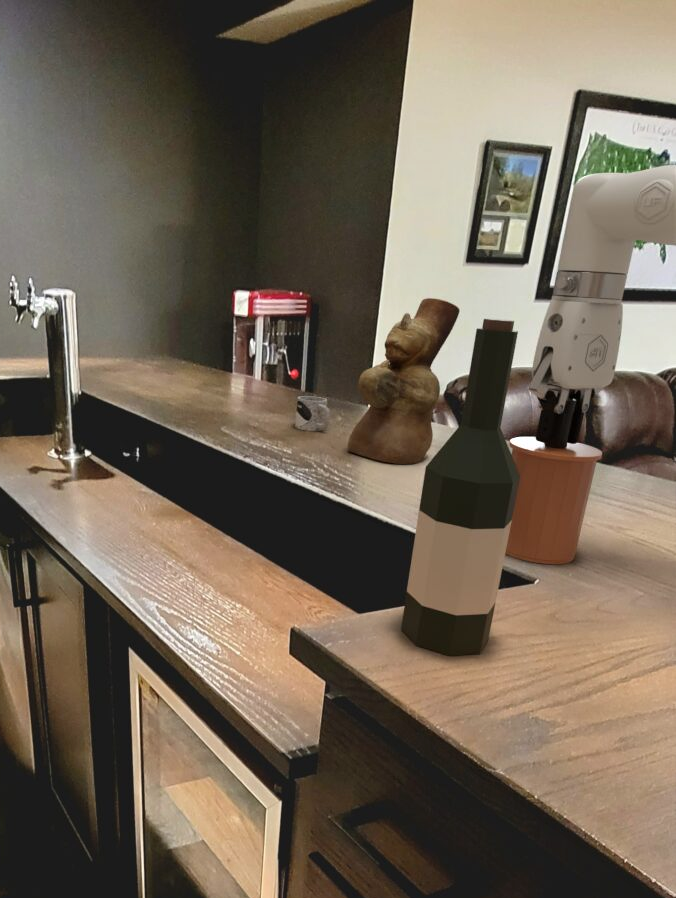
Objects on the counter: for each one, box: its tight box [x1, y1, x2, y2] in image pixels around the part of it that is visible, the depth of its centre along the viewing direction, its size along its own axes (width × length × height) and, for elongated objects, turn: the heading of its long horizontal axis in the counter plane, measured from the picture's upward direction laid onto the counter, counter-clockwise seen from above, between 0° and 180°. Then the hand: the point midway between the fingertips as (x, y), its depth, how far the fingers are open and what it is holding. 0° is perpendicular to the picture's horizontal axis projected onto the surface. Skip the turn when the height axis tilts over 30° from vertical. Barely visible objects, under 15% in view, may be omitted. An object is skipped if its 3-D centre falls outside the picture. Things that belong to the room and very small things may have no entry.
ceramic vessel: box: [347, 297, 461, 465], centre depth 140 cm, size 16×22×30 cm
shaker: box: [505, 448, 598, 565], centre depth 93 cm, size 10×10×14 cm
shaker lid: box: [508, 398, 603, 462], centre depth 90 cm, size 11×11×7 cm
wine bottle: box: [400, 318, 520, 657], centre depth 66 cm, size 8×8×30 cm
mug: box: [294, 395, 331, 432], centre depth 162 cm, size 10×7×7 cm
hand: (556, 440), depth 91 cm, fingers closed on shaker lid, 2 cm apart
